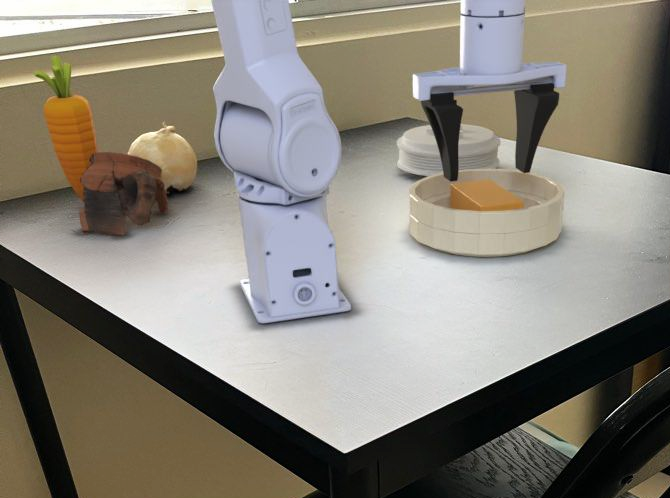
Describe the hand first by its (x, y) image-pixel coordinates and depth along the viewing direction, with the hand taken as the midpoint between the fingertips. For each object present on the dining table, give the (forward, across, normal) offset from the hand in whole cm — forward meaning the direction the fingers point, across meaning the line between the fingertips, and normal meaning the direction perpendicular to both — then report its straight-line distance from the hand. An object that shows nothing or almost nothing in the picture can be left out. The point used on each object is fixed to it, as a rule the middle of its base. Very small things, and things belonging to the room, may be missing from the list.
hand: (487, 174), depth 85 cm
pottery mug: (+6, +34, -17) cm, 39 cm away
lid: (+6, -5, -24) cm, 25 cm away
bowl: (+6, 0, 0) cm, 6 cm away
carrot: (+6, +38, -26) cm, 47 cm away
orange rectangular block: (+5, 0, 0) cm, 5 cm away
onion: (+6, +29, -29) cm, 42 cm away
